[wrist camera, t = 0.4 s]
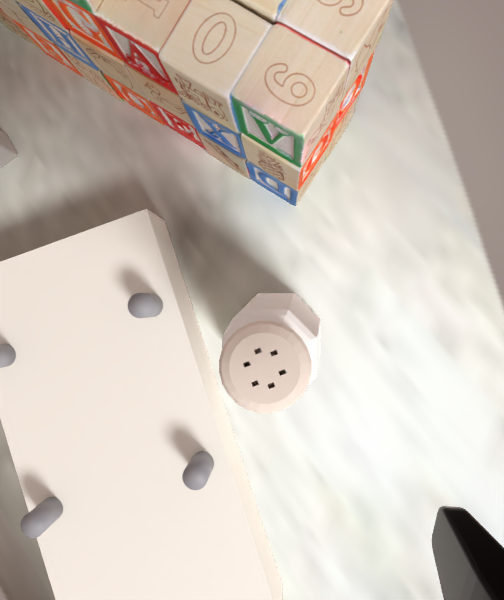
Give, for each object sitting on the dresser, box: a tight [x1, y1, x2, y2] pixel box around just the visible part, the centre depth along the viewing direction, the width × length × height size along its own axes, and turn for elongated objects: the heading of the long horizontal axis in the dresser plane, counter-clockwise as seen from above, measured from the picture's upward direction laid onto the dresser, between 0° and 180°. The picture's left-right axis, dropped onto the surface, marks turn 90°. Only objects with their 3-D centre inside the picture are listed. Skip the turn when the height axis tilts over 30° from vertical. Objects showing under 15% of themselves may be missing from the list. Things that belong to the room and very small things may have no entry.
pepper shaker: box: [219, 293, 321, 413], centre depth 17 cm, size 5×5×11 cm
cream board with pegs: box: [0, 209, 283, 600], centre depth 21 cm, size 22×11×5 cm, turn 18°
